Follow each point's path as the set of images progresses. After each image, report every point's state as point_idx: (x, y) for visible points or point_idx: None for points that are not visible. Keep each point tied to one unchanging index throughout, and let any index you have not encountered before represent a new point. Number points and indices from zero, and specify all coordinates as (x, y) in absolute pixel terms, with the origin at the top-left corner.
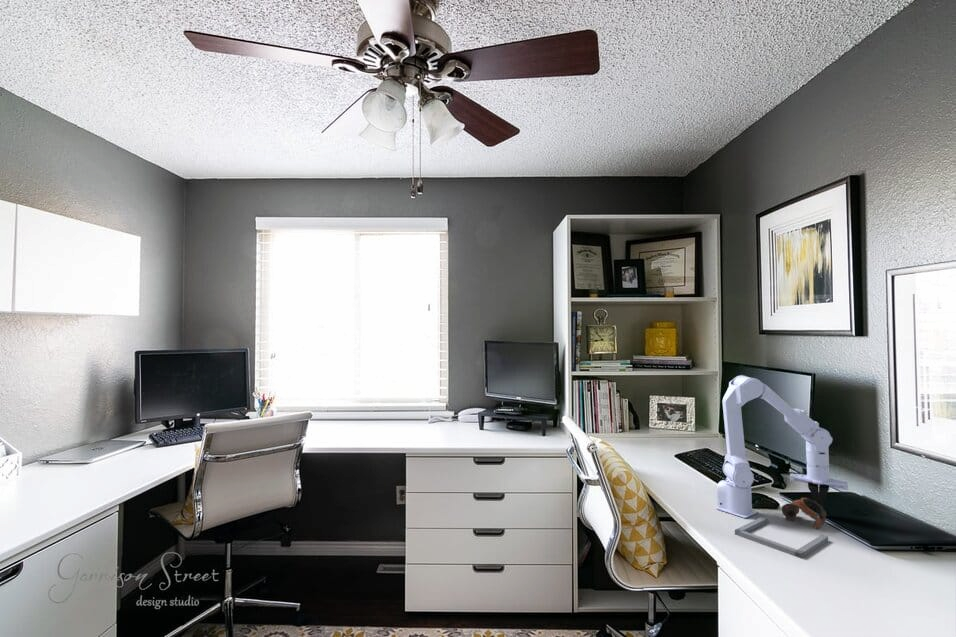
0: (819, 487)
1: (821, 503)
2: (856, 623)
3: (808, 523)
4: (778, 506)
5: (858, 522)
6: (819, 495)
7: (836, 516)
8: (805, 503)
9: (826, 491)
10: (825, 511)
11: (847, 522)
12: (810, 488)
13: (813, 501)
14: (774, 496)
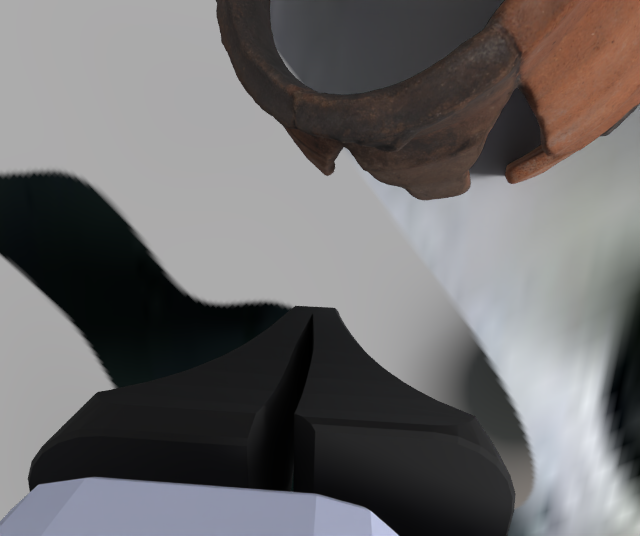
0: (229, 468)
1: (283, 322)
2: None
3: (406, 22)
4: (619, 341)
5: (78, 305)
6: (284, 368)
7: (214, 347)
8: (468, 172)
9: (112, 394)
10: (222, 38)
11: (136, 261)
12: (445, 416)
13: (372, 98)
14: (608, 532)
